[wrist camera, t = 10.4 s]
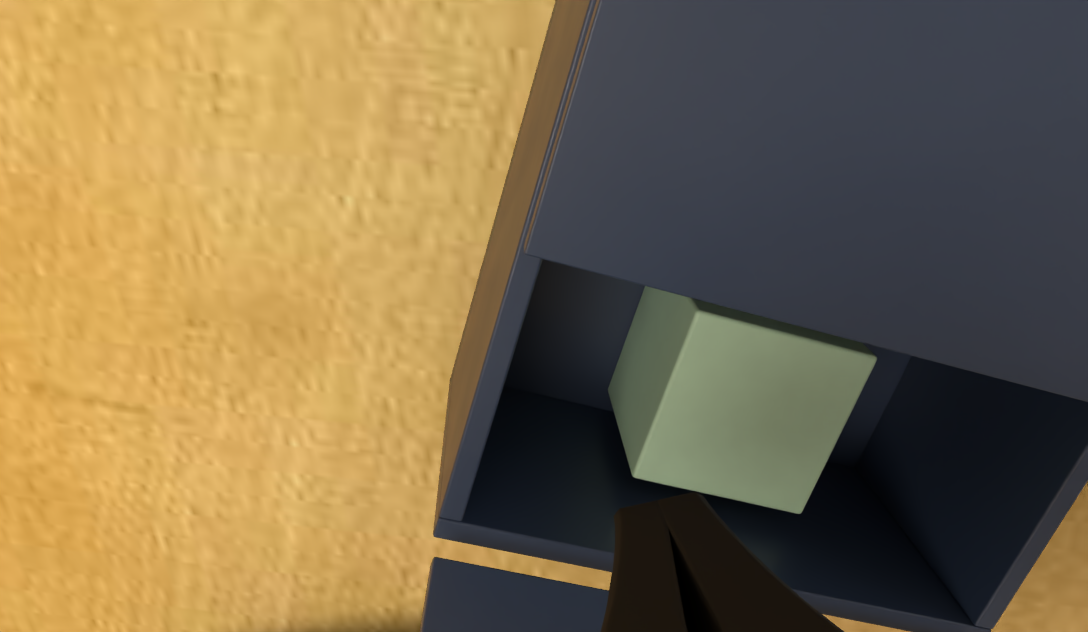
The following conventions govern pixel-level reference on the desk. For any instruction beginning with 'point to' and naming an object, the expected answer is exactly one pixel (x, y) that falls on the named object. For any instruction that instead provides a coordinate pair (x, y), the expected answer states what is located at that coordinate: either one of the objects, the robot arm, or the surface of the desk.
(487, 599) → the carton flap
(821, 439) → the block
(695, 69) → the carton
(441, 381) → the desk surface
